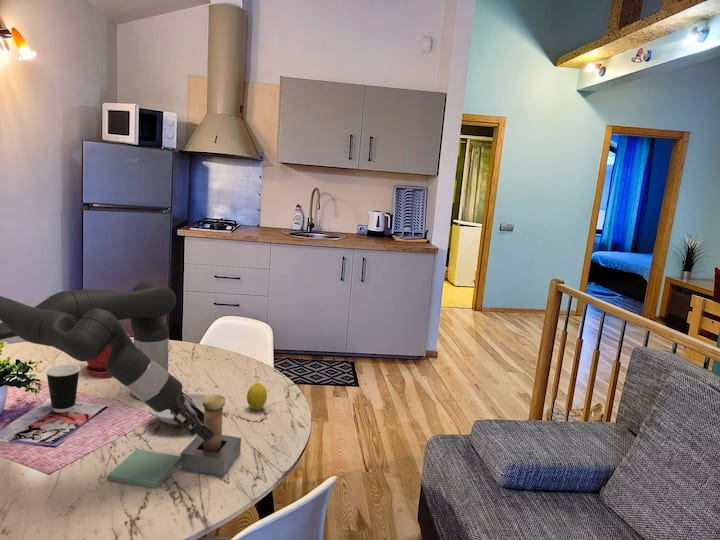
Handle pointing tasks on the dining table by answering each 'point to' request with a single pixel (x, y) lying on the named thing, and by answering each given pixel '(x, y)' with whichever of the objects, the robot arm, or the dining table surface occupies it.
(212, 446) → the peg
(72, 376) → the dixie cup
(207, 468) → the grey square socket block
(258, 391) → the lemon
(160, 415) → the dish
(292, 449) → the dining table surface
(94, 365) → the plant pot
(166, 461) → the mat
